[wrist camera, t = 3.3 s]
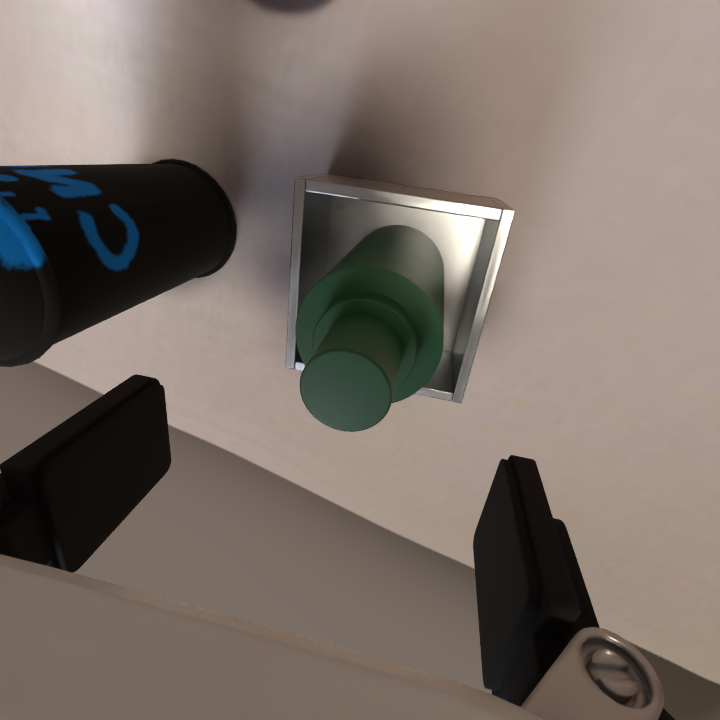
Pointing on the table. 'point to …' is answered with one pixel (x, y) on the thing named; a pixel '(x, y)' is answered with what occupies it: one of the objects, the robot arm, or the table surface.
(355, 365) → the bottle
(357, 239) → the bin
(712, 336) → the table surface
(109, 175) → the aerosol can
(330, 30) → the table surface
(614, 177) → the table surface
